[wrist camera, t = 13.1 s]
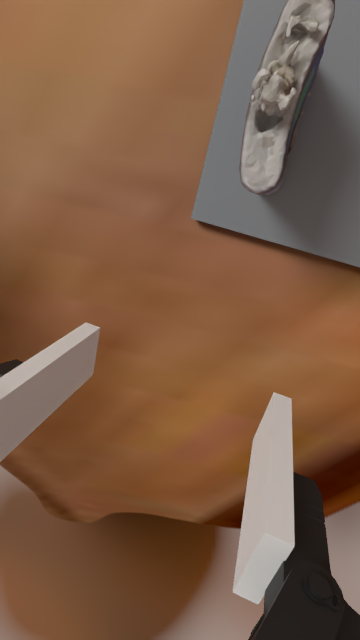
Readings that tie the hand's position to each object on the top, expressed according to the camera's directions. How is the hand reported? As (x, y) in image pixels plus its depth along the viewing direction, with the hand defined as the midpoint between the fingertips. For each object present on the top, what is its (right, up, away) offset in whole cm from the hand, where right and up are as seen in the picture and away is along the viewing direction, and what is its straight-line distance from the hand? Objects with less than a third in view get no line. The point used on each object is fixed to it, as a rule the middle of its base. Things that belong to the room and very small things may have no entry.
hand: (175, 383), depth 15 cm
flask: (+8, +17, +9) cm, 21 cm away
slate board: (+12, +16, +9) cm, 22 cm away
